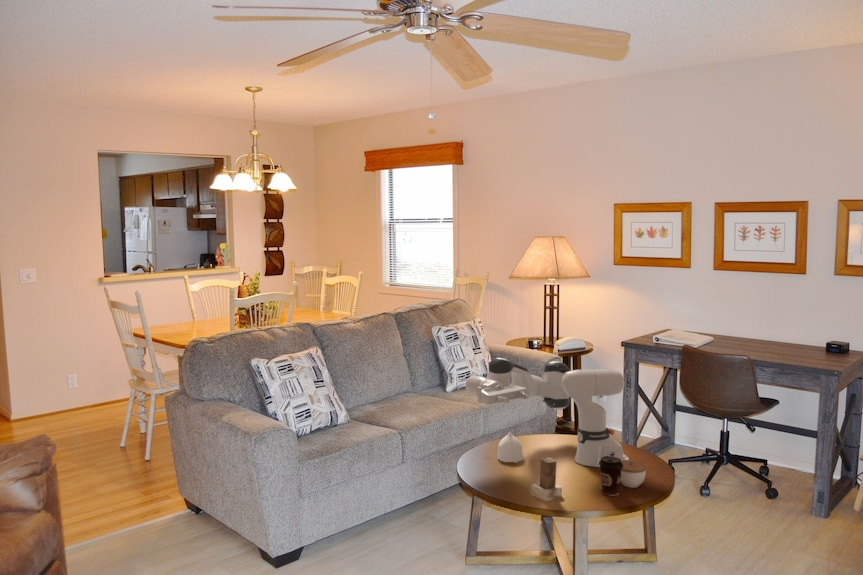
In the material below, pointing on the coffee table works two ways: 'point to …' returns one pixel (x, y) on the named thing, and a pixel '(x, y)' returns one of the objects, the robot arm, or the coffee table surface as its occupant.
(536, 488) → the birch plinth
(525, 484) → the coffee table surface
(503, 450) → the teardrop
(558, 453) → the coffee table surface
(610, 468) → the coffee cup
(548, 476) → the walnut pillar
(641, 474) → the lidded jar
